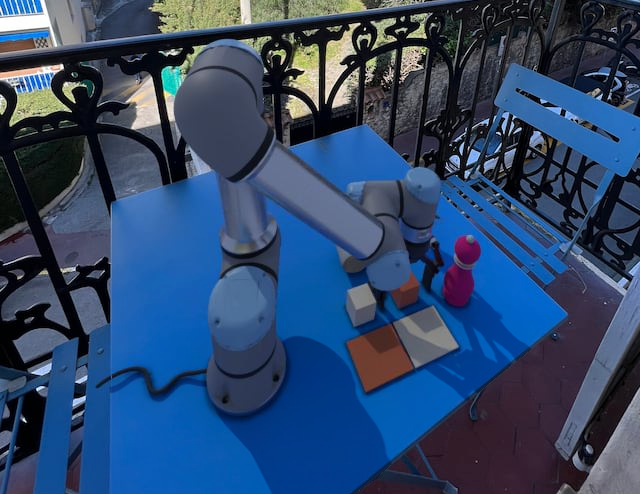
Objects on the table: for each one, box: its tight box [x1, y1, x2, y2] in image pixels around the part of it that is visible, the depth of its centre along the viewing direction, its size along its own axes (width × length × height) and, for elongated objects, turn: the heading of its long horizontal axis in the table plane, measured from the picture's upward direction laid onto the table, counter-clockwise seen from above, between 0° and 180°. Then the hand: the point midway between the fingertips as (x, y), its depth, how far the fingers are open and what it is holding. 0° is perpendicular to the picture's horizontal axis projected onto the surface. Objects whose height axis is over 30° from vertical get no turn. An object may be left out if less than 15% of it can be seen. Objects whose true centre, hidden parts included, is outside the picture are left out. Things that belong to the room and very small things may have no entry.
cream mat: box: [392, 305, 460, 369], centre depth 90 cm, size 11×10×1 cm
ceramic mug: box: [334, 244, 367, 274], centre depth 104 cm, size 11×8×8 cm
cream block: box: [345, 282, 377, 328], centre depth 92 cm, size 5×5×6 cm
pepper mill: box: [442, 234, 482, 308], centre depth 95 cm, size 7×7×20 cm
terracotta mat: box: [346, 323, 415, 394], centre depth 85 cm, size 11×10×1 cm
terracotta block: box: [389, 270, 421, 310], centre depth 97 cm, size 5×5×6 cm
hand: (403, 295), depth 98 cm, fingers open, 12 cm apart
